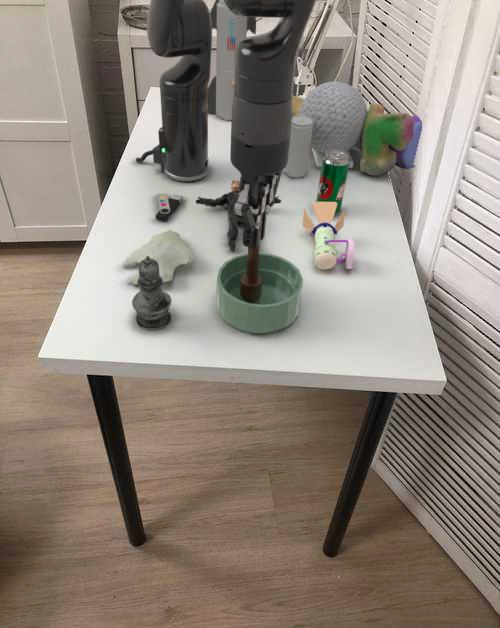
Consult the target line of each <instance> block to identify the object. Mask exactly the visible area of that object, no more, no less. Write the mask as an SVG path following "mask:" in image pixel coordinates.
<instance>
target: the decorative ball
mask: <svg viewBox="0 0 500 628" xmlns="http://www.w3.org/2000/svg"><path fill="white" fill-rule="evenodd" d="M303 99H304V101H303V102H302V105H301V107H300V110H299V115H298V116H306V117H309V118H311V119H312V120H313V129H312V136H311V143H310V149H311V150H312V149H314V150H316V151H318V152H320V153H323V154H326V152H327V151H329V150H334V149H336V150H342V151H344V152H345V151H347V150H349V151H350V150H351V149H353V148H354V147H355V146H356V145H357V144H358V143H360V142H359V140H360V139H361V138H362V135H363V128H364V124H365V120H366V117H367V113H368V107H367V104H366V101H365V99H364V97H363V96H362V94H361V93H360V92H359V91H358V90H357V89H356V88H355V87H353V86H352V85H350V84H348V83H345V82H343V81H342V82H341V81H328V82H325V83H321V84H319V85H317V86H316V87H314V88H313V89H312V90H310V91H309V92H308V94H307V95H306V96H305V97H304V98H303Z"/></svg>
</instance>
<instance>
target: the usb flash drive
mask: <svg viewBox="0 0 500 628" xmlns="http://www.w3.org/2000/svg"><path fill="white" fill-rule="evenodd" d="M183 199H184V197H183V195H181V194H176V193H173V194H172V195H171V196H170V197H169V198H168V193H167V192H165V193H156V200H157V205H158V211H157V213H156V215H154V216H155V219H156V220H158V221H161V222H166V221H167V220H168V219H169V218H170V217H171V215H172V214H173V213H174V211H176V209H177V208H178V206H179V205H180V202H182V200H183Z"/></svg>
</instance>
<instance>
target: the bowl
mask: <svg viewBox="0 0 500 628" xmlns="http://www.w3.org/2000/svg"><path fill="white" fill-rule="evenodd" d="M247 253H248V252H245V253H242V254H239V255H235V256H233V257H231V258H230V259H228V260H226V261H225V262H223V264H222V265H221V266H220V267H219V269H218V272H217V275H216V276H217V277H216V307H217V311H218V314H219V315H220V316H221V318H222V319H223V320H224V321H225V322H226V323H228V324H229V325H231V326H232V327H233V328H235V329H237V330H241V331H244V332H247V333H255V334H266V333H267V334H268V333H275V332H277V331H281V330H283V329H285V328H287V327H288V326H289V325H291V324H292V323H293V322H295V320H296V318H297V316H298V315H299V313H300V306H301V301H302V300H301V299H302V293H303V283H304V278H303V275H302V274H301V271H300V269H299V268H298V267H297V266H296V265H295V263H293V262H291V261H290V260H288V259H286V258H284V257H282V256H280V255H277V254H272V253H268V252H260V254H259V267H258V274H259V275H260V276H261V277H262V279H263V282H262V294H261V297H260V298H259V299H257V300H254V301H249V300H245V299H244V298H242V297H241V295H240V286H241V277H242V275H244V274H246V270H247Z"/></svg>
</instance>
